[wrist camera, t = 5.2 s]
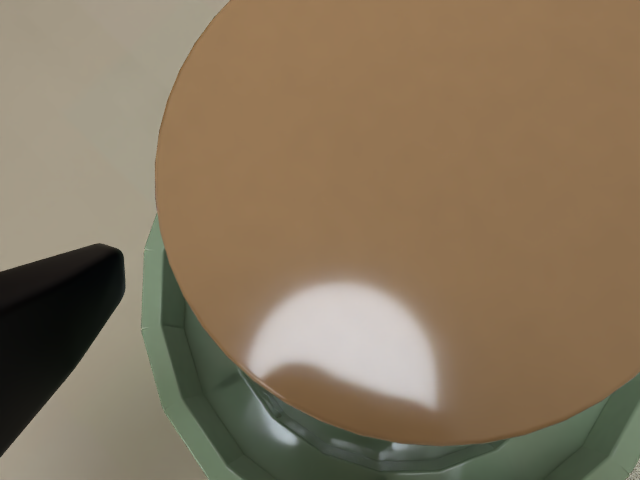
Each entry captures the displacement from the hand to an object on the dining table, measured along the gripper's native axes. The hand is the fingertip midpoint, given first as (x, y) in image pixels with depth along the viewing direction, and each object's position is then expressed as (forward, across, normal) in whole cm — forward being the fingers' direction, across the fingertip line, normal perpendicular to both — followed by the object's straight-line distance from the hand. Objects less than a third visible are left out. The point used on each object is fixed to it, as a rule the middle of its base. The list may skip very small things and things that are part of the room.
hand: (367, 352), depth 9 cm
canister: (+8, 0, +5) cm, 9 cm away
